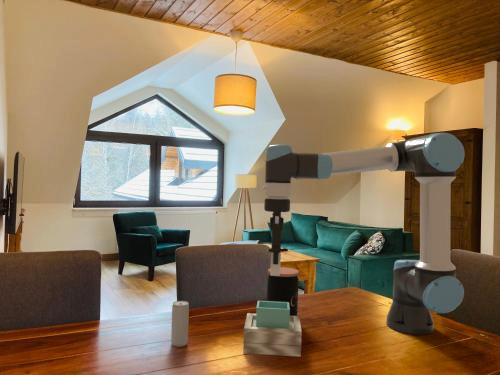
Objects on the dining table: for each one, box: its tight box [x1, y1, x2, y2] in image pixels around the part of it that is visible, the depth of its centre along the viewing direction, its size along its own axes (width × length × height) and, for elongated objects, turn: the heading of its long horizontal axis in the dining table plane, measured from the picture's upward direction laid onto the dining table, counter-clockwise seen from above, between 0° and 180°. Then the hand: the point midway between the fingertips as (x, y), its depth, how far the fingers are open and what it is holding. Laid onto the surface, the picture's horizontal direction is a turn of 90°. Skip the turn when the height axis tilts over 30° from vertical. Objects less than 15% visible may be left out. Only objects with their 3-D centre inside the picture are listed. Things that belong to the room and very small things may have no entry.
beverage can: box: [170, 300, 190, 348], centre depth 119 cm, size 5×5×12 cm
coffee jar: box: [266, 266, 300, 316], centre depth 140 cm, size 11×11×18 cm
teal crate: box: [255, 300, 290, 329], centre depth 120 cm, size 10×7×6 cm
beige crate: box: [242, 312, 303, 358], centre depth 120 cm, size 16×13×7 cm
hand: (275, 270), depth 120 cm, fingers open, 13 cm apart
